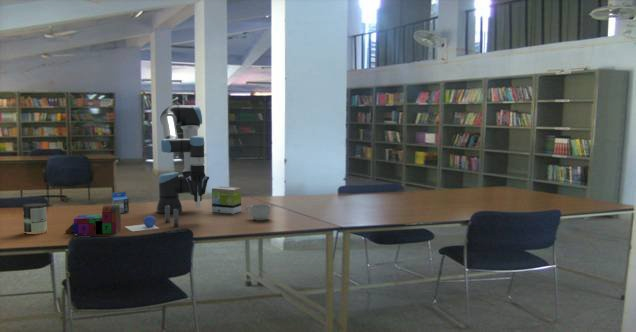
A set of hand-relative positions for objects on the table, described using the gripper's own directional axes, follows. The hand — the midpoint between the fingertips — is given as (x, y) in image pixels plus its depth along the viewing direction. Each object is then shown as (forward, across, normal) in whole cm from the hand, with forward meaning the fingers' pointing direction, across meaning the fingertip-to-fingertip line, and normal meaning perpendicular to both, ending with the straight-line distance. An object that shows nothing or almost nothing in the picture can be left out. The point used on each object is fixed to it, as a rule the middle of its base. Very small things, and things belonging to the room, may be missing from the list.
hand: (198, 207), depth 303 cm
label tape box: (+9, -28, +50) cm, 58 cm away
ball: (+4, -27, -2) cm, 28 cm away
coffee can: (+8, -78, +16) cm, 80 cm away
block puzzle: (+8, -54, +3) cm, 55 cm away
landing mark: (+7, -31, -1) cm, 32 cm away
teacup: (+8, +30, -14) cm, 34 cm away
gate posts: (+8, -15, -1) cm, 17 cm away
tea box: (+9, +26, +18) cm, 33 cm away
